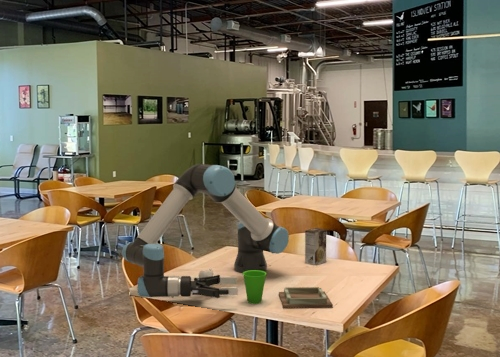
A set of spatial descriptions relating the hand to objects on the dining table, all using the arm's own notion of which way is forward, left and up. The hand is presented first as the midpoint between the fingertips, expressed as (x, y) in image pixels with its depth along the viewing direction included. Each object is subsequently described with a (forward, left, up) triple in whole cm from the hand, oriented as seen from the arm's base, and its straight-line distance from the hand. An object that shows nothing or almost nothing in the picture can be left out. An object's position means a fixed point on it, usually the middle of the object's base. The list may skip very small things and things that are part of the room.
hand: (237, 285), depth 207 cm
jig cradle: (0, +25, -6) cm, 26 cm away
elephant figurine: (-25, -13, -7) cm, 29 cm away
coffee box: (-58, +39, -7) cm, 71 cm away
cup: (0, +6, -7) cm, 9 cm away
